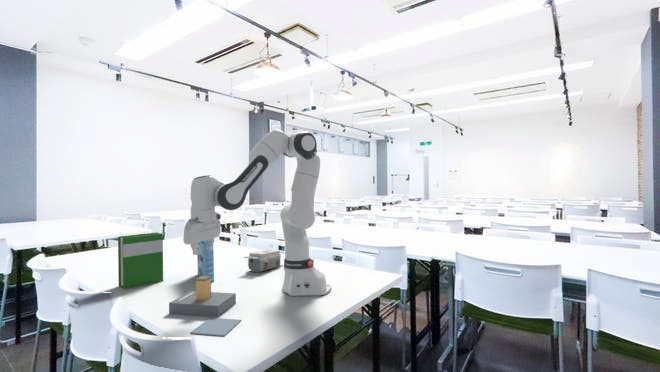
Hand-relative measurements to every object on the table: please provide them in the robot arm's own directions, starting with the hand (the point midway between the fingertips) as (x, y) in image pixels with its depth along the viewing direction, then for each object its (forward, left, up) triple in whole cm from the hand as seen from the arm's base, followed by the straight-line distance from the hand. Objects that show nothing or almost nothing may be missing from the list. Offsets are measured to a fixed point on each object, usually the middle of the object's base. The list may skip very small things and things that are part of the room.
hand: (203, 252), depth 128 cm
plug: (0, 0, -22) cm, 22 cm away
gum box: (+23, -39, -22) cm, 50 cm away
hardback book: (+49, -25, -22) cm, 59 cm away
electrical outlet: (-1, -62, -22) cm, 66 cm away
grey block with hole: (0, 0, -22) cm, 22 cm away
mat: (-14, +15, -22) cm, 30 cm away
